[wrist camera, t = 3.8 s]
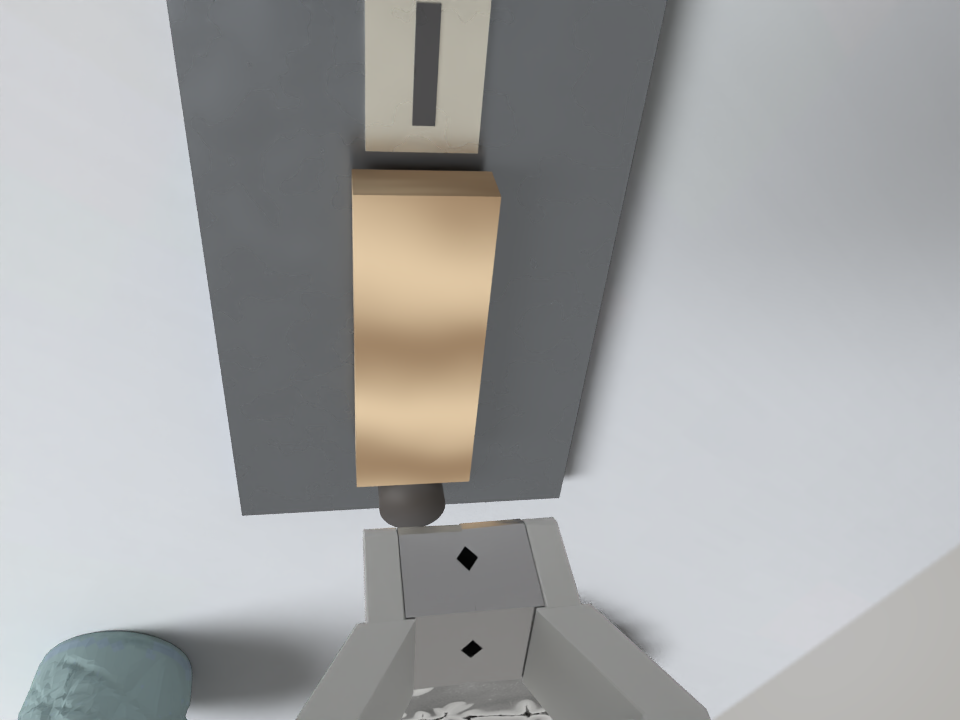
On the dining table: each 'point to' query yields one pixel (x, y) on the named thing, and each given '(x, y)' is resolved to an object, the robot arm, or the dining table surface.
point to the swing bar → (419, 330)
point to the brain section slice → (476, 702)
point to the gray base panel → (404, 146)
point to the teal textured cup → (111, 680)
